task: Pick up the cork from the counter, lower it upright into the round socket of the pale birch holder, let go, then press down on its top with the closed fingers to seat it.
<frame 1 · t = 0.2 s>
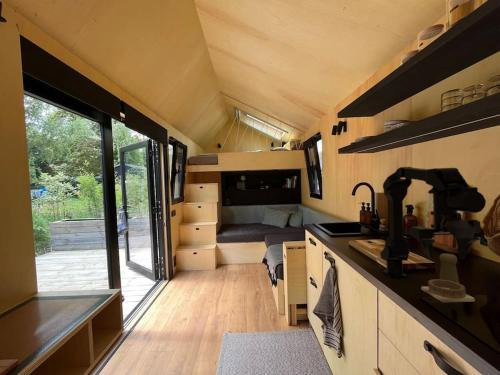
hand: (446, 259, 77), 14 cm above the countertop, tool pointing down, fingers open, 9 cm apart
cork: (449, 284, 93), on the countertop
shaker holder: (446, 295, 84), on the countertop
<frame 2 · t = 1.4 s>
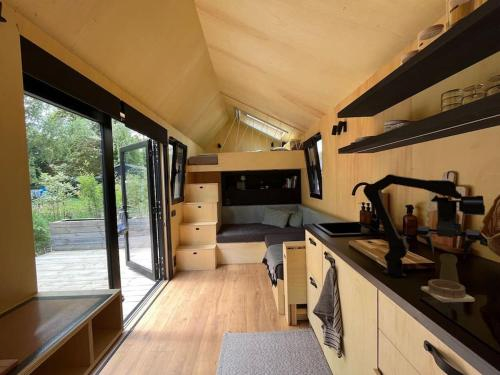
hand: (447, 255, 93), 10 cm above the countertop, tool pointing down, fingers open, 9 cm apart
nothing on the countertop moved.
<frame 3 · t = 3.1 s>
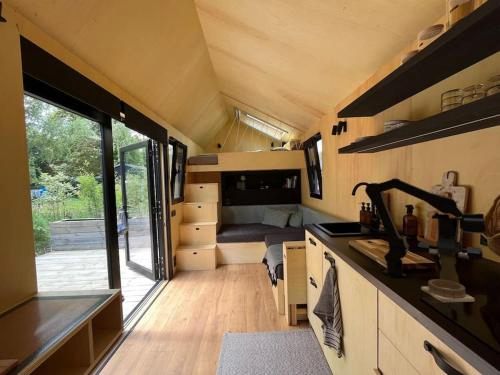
hand: (448, 272, 93), 4 cm above the countertop, tool pointing down, fingers closed on cork, 4 cm apart
cork: (449, 284, 93), on the countertop, touching gripper
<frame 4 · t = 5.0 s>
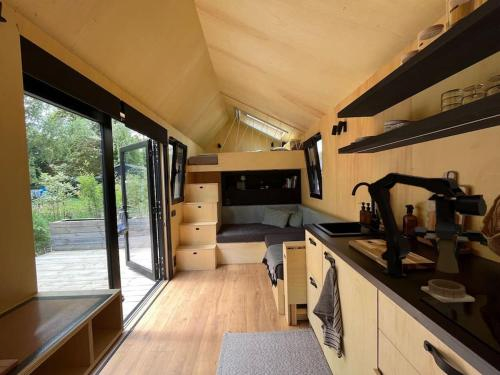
hand: (447, 258, 87), 11 cm above the countertop, tool pointing down, fingers closed on cork, 4 cm apart
cork: (447, 270, 87), point 7 cm above the countertop, touching gripper
when the fingers open (6 cm above the countertop, at t = 7.1 s): cork drops 1 cm, resting on shaker holder.
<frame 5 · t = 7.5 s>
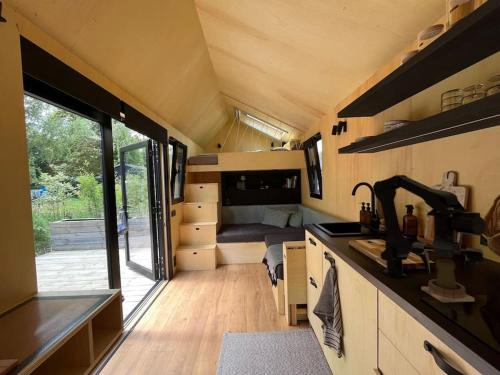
hand: (445, 276, 84), 6 cm above the countertop, tool pointing down, fingers open, 9 cm apart
cork: (446, 292, 84), point 1 cm above the countertop, touching shaker holder
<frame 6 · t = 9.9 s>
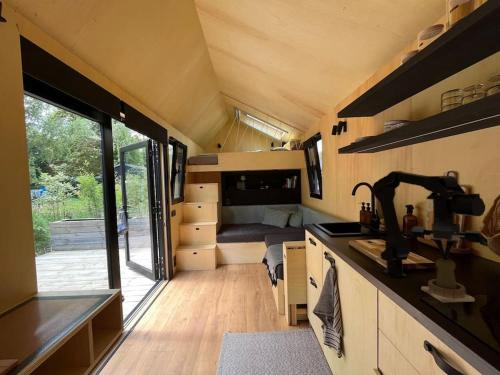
hand: (445, 259, 84), 12 cm above the countertop, tool pointing down, fingers closed, pressing on cork
cork: (446, 292, 84), point 1 cm above the countertop, touching gripper, shaker holder
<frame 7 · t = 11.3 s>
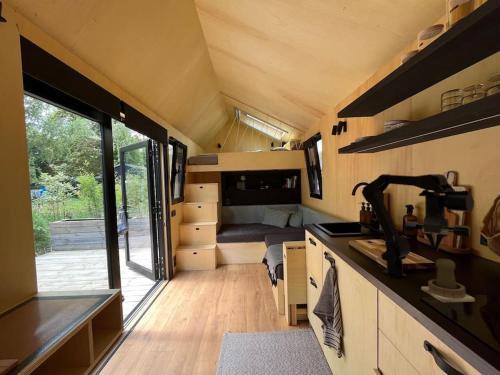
hand: (435, 252, 90), 13 cm above the countertop, tool pointing down, fingers closed
cork: (446, 292, 84), point 1 cm above the countertop, touching shaker holder
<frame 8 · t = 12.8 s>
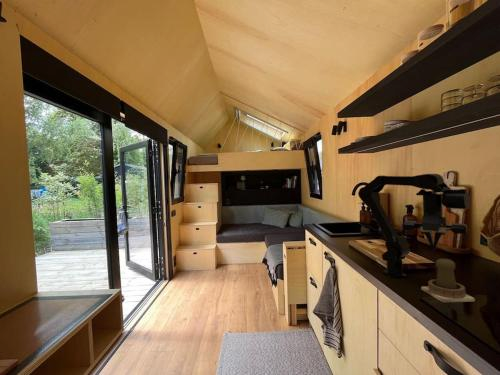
hand: (433, 250, 92), 13 cm above the countertop, tool pointing down, fingers closed
nothing on the countertop moved.
at the end: cork 0.1 cm off-centre on the shaker holder, point 0.8 cm above the shaker holder's base; cork tilted 0°; the gripper is holding nothing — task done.
